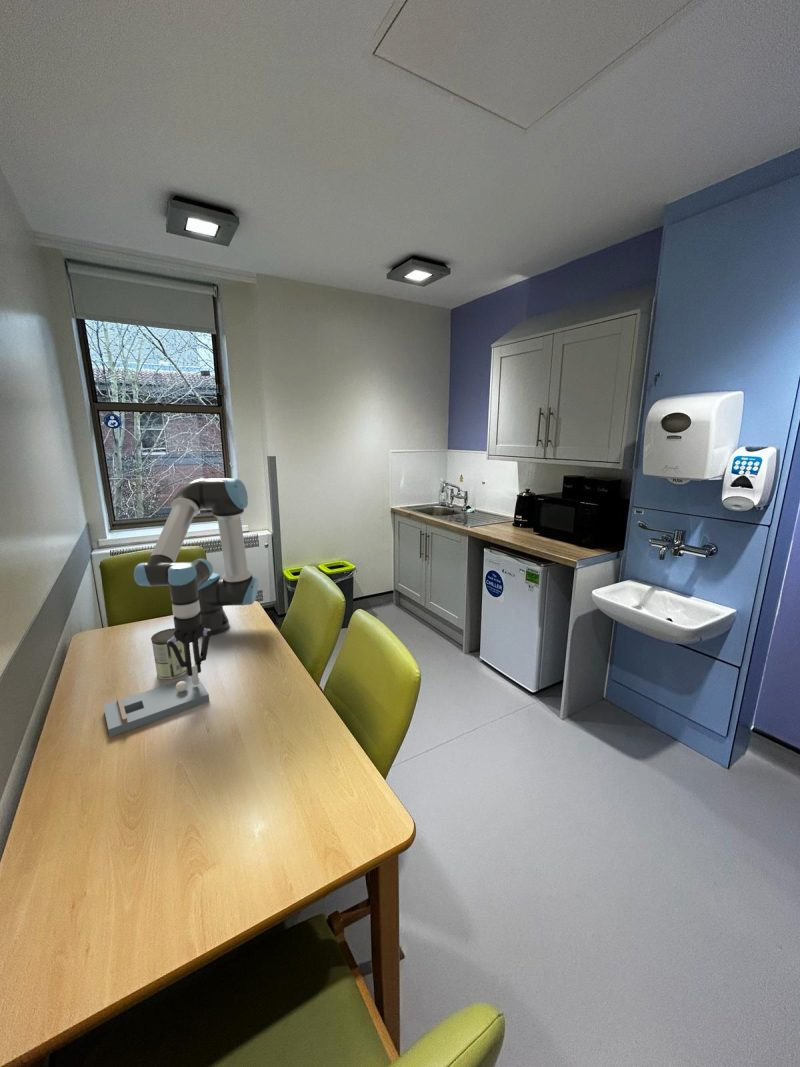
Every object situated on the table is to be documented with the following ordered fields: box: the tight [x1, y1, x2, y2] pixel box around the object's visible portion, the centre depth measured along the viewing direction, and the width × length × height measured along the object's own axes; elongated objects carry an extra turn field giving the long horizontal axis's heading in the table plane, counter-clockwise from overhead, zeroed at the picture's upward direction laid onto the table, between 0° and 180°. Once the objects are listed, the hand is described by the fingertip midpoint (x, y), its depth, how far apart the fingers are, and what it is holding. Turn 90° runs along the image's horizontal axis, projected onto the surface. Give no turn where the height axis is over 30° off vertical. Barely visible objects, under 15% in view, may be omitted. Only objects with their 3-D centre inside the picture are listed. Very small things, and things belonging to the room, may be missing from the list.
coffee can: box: [150, 627, 187, 680], centre depth 148 cm, size 10×10×14 cm
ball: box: [176, 681, 187, 692], centre depth 134 cm, size 3×3×3 cm
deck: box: [102, 676, 210, 738], centre depth 130 cm, size 26×14×4 cm, turn 129°
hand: (195, 682), depth 136 cm, fingers closed
